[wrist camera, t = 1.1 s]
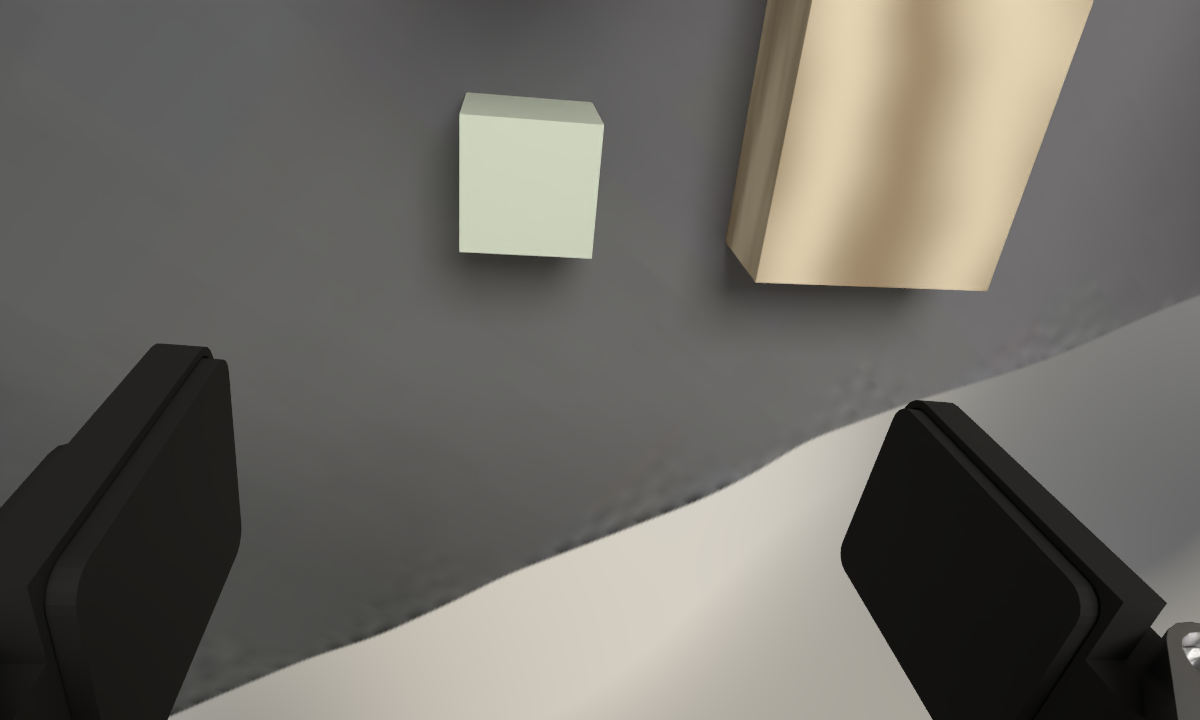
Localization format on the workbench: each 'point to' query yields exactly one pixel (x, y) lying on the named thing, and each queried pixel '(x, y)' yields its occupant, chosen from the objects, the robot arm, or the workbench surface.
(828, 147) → the maple block
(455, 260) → the workbench surface
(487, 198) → the sage cube
